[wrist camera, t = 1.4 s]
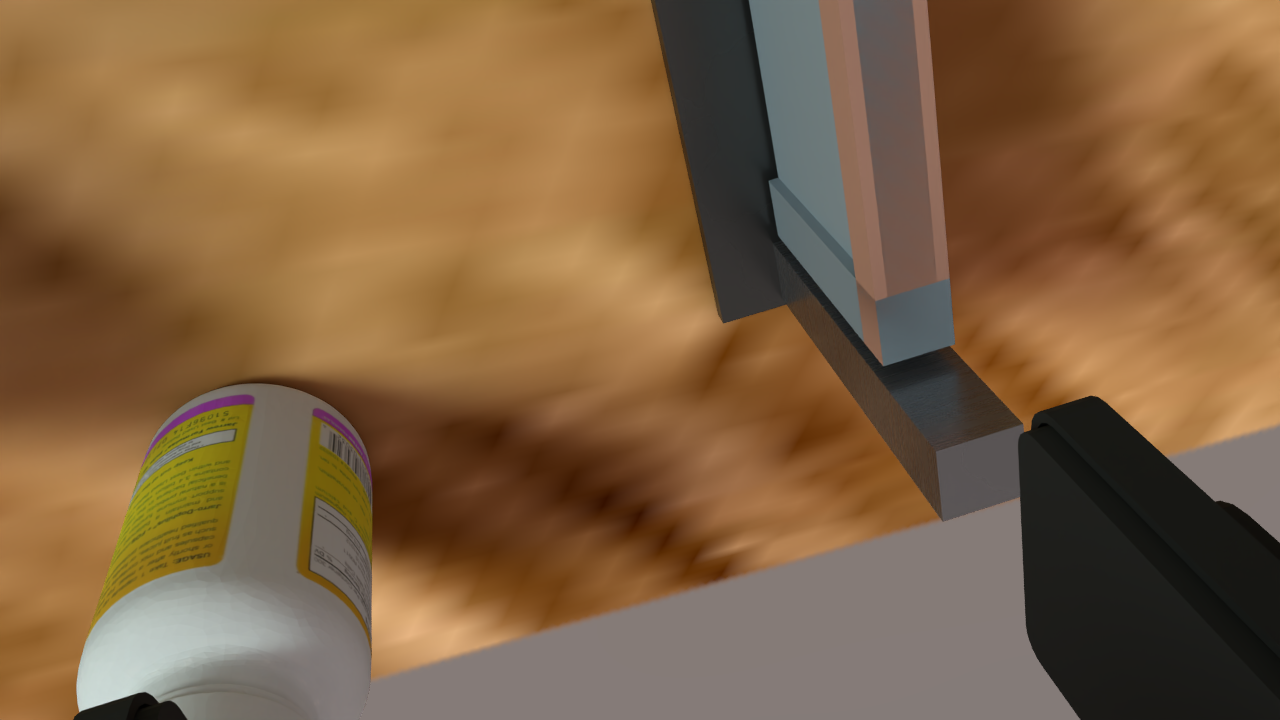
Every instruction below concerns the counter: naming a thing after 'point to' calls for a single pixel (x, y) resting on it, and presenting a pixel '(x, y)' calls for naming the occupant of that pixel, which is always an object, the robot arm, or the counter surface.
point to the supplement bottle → (242, 565)
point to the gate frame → (772, 276)
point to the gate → (860, 163)
